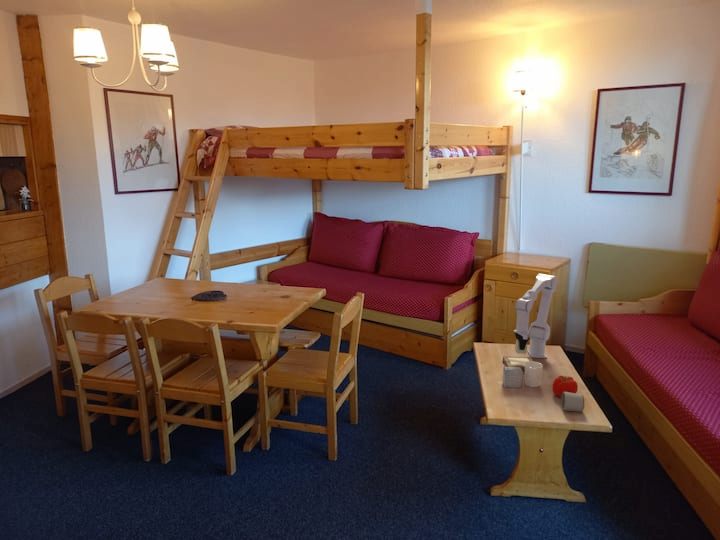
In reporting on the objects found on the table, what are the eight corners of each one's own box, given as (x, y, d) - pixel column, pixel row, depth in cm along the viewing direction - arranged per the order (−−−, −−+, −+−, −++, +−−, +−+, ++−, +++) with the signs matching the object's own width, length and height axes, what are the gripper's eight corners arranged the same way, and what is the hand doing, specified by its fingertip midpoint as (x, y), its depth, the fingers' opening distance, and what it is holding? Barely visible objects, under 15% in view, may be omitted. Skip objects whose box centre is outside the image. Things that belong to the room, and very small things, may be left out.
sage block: (515, 350, 264) (516, 339, 263) (524, 350, 264) (525, 339, 262) (517, 353, 260) (518, 342, 258) (526, 353, 259) (527, 342, 258)
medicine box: (519, 384, 243) (520, 366, 241) (521, 388, 239) (522, 370, 237) (502, 383, 244) (503, 366, 242) (503, 387, 240) (505, 370, 238)
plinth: (502, 360, 271) (503, 356, 270) (529, 360, 270) (530, 356, 269) (508, 371, 257) (508, 367, 256) (537, 372, 256) (537, 367, 256)
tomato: (581, 400, 227) (583, 381, 225) (559, 402, 226) (560, 384, 224) (568, 389, 238) (569, 371, 236) (546, 391, 236) (547, 373, 234)
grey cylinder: (584, 415, 215) (586, 398, 213) (563, 413, 216) (565, 396, 215) (578, 403, 225) (580, 387, 223) (558, 401, 226) (560, 385, 225)
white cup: (520, 384, 243) (522, 364, 240) (528, 379, 248) (529, 359, 246) (536, 389, 238) (538, 369, 235) (544, 384, 243) (545, 364, 241)
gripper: (511, 317, 265) (509, 342, 268) (517, 327, 251) (516, 353, 254) (525, 317, 265) (523, 342, 268) (532, 327, 251) (530, 353, 254)
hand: (520, 347), depth 261 cm, fingers closed on sage block, 4 cm apart
